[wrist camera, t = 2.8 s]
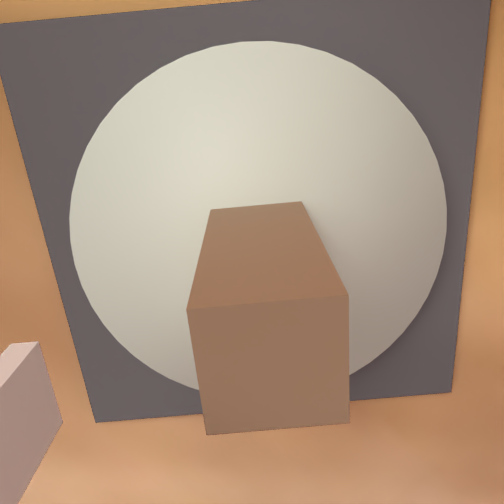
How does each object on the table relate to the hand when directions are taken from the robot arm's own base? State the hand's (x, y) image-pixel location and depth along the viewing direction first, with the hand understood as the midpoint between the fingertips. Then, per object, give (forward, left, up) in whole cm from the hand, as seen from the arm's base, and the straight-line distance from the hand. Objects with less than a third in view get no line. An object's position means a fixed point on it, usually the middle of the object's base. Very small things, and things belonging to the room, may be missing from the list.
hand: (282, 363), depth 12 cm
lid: (0, 0, -10) cm, 10 cm away
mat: (0, 0, -10) cm, 10 cm away
